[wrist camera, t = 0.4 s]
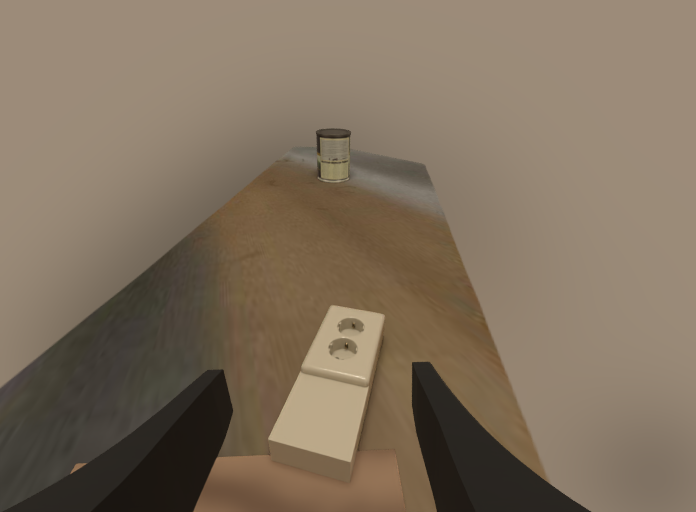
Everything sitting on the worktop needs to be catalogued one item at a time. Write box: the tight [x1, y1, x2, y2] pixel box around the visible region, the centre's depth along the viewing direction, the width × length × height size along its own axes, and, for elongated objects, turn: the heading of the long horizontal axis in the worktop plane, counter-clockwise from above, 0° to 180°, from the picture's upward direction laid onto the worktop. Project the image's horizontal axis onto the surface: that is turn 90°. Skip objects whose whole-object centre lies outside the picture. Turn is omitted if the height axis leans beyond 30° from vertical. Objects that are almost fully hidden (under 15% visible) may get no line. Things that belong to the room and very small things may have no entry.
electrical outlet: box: [268, 305, 385, 483], centre depth 35 cm, size 7×4×18 cm
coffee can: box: [316, 129, 351, 183], centre depth 101 cm, size 10×10×14 cm
